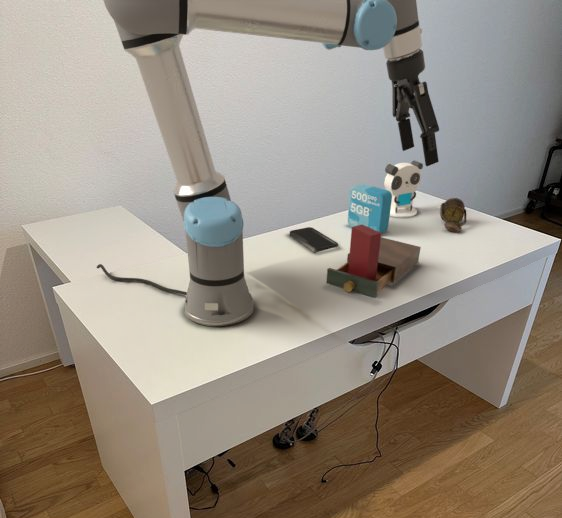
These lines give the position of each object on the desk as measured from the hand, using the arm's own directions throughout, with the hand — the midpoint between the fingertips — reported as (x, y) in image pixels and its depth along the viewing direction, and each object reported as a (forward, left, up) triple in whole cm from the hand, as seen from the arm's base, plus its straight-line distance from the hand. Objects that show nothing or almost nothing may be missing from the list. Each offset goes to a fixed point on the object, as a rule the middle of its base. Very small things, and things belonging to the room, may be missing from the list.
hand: (419, 156), depth 123 cm
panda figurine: (-19, +40, -28) cm, 52 cm away
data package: (-20, +20, -28) cm, 40 cm away
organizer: (-4, -4, -28) cm, 28 cm away
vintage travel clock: (-1, +38, -28) cm, 47 cm away
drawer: (-4, -14, -28) cm, 31 cm away
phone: (-28, +2, -28) cm, 40 cm away
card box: (-4, -16, -26) cm, 31 cm away
